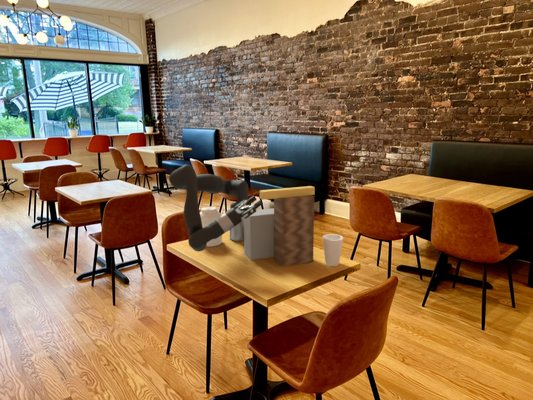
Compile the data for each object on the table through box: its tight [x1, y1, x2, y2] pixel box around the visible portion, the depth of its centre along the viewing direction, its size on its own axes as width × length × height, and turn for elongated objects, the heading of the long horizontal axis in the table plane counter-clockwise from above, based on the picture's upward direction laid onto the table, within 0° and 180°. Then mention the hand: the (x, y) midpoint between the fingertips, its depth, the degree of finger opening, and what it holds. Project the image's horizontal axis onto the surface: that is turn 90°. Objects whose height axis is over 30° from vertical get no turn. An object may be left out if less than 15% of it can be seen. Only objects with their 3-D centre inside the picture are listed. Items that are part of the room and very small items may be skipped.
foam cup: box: [322, 233, 344, 267], centre depth 186 cm, size 10×9×13 cm
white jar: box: [199, 206, 223, 248], centre depth 215 cm, size 12×12×20 cm
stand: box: [273, 195, 315, 267], centre depth 188 cm, size 16×10×32 cm, turn 111°
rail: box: [259, 185, 316, 201], centre depth 183 cm, size 26×4×4 cm, turn 111°
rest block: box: [243, 207, 274, 261], centre depth 197 cm, size 16×10×22 cm, turn 111°
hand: (258, 199), depth 178 cm, fingers open, 8 cm apart
